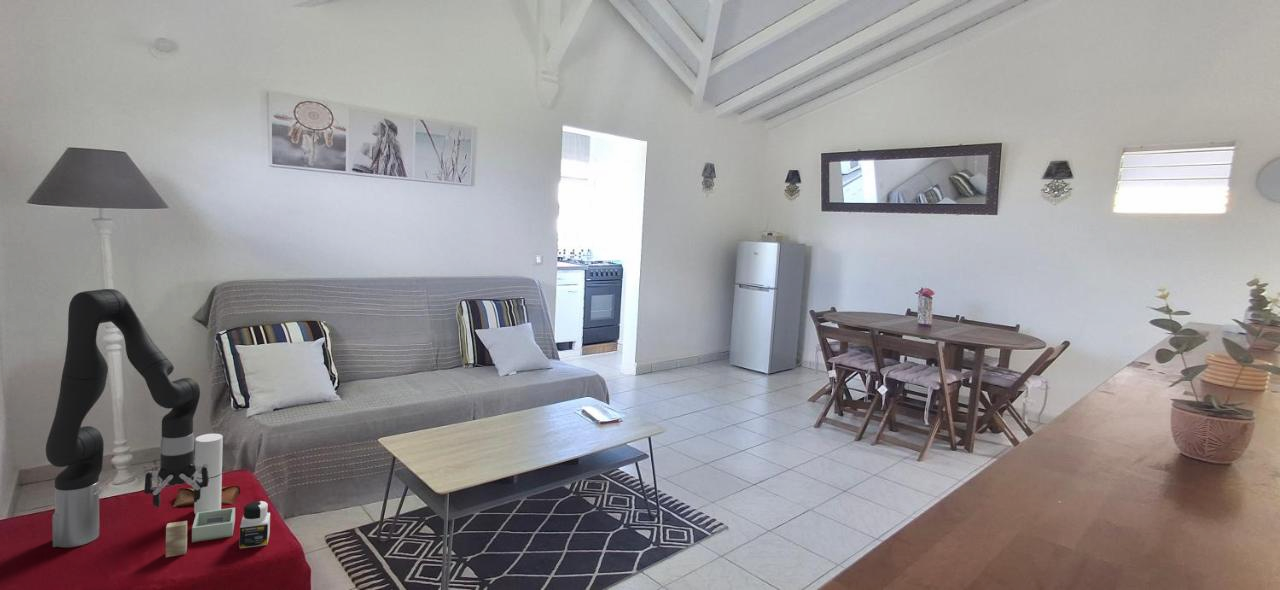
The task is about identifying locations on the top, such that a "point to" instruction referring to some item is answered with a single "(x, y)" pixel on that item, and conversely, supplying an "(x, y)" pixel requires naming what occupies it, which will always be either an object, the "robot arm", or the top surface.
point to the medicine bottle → (255, 525)
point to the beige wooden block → (176, 538)
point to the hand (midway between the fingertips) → (177, 503)
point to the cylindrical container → (209, 471)
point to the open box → (213, 524)
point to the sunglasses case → (187, 496)
